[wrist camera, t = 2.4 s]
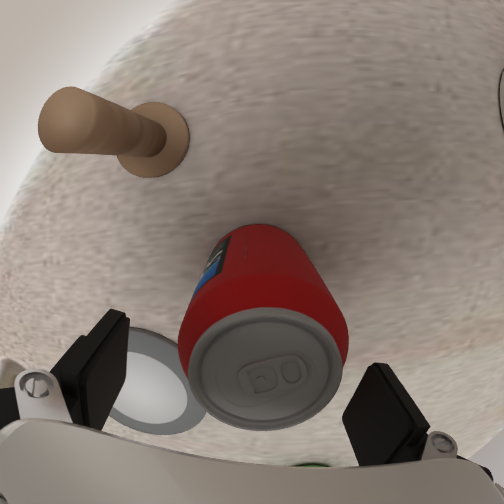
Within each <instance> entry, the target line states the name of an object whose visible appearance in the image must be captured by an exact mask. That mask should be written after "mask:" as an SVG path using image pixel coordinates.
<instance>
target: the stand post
mask: <svg viewBox="0 0 504 504" xmlns="http://www.w3.org/2000/svg"><path fill="white" fill-rule="evenodd" d="M38 134H39V138H40V140H41V142H42V144H43V145H44V147H45V148H46V149H48V150H49V151H51V152H54V153H80V154H103V155H117V158H118V160H119V162H120V163H121V165H122V166H123V167H124V168H125V169H126V170H127V171H128V172H130V173H132V174H134V175H136V176H139V177H157V176H162V175H165V174H167V173H169V172H171V171H172V170H173V169H175V168H176V167H177V166H178V165H179V164H180V163H181V161H182V160H183V159H184V157H185V155H186V153H187V150H188V147H189V139H190V136H189V129H188V126H187V123H186V121H185V120H184V118H183V117H182V116H181V115H180V114H179V113H178V112H177V111H176V110H174V109H173V108H172V107H170V106H168V105H166V104H163V103H158V102H149V103H144V104H141V105H139V106H137V107H135V108H133V109H132V110H129V109H127V108H124V107H122V106H120V105H117V104H115V103H113V102H110V101H108V100H106V99H103V98H101V97H99V96H96V95H94V94H91V93H89V92H87V91H84V90H82V89H79V88H76V87H65V88H62V89H60V90H58V91H56V92H55V93H54V94H53V95H51V97H49V99H48V100H47V101H46V103H45V104H44V106H43V108H42V110H41V113H40V116H39V121H38Z"/></svg>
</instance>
